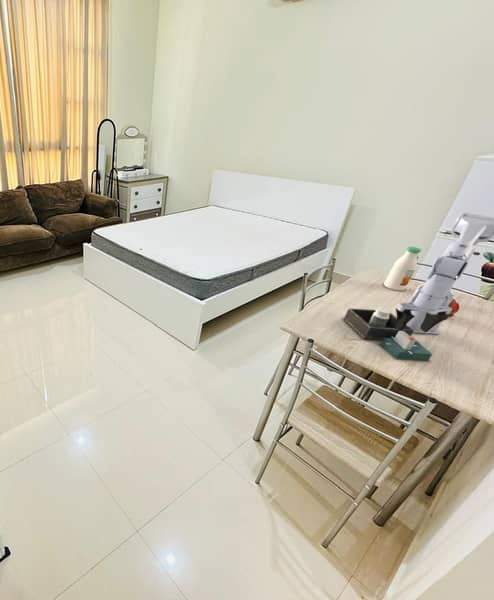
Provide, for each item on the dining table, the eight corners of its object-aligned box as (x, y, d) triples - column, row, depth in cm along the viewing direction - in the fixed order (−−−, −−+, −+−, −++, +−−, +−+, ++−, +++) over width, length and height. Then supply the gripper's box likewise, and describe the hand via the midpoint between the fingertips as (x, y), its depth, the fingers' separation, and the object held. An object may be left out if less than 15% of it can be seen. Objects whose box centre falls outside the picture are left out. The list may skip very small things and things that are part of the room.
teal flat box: (408, 344, 115) (413, 337, 113) (429, 362, 106) (435, 355, 105) (373, 342, 116) (377, 335, 114) (391, 359, 108) (396, 352, 106)
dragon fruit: (432, 322, 130) (434, 315, 138) (463, 318, 124) (463, 311, 131) (424, 302, 131) (427, 297, 138) (455, 297, 124) (456, 292, 132)
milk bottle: (389, 290, 151) (410, 250, 141) (380, 283, 158) (399, 244, 148) (408, 291, 150) (430, 251, 140) (397, 284, 157) (418, 245, 146)
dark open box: (382, 321, 128) (388, 310, 125) (406, 342, 116) (414, 330, 113) (343, 319, 129) (348, 308, 126) (363, 339, 117) (370, 327, 115)
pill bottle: (384, 333, 120) (395, 314, 115) (370, 331, 120) (380, 312, 116) (377, 325, 124) (387, 307, 119) (364, 324, 124) (373, 306, 120)
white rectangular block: (393, 339, 112) (399, 330, 110) (398, 340, 112) (404, 330, 110) (404, 349, 107) (410, 339, 105) (409, 350, 107) (416, 340, 105)
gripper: (417, 299, 97) (395, 335, 104) (469, 301, 96) (444, 338, 102) (400, 288, 103) (381, 323, 110) (449, 290, 102) (427, 325, 108)
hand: (410, 329), depth 107 cm, fingers open, 7 cm apart
